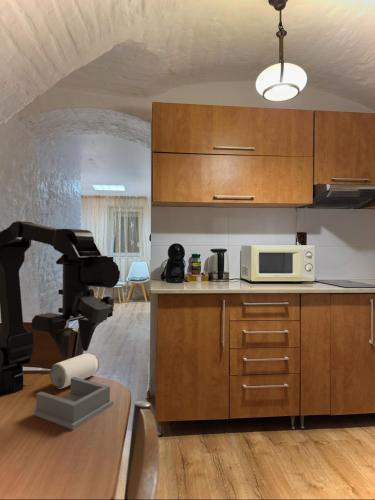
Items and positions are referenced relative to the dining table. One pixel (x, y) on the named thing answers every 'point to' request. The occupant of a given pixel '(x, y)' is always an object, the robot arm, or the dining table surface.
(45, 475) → the dining table surface
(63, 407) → the u rest
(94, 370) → the can
